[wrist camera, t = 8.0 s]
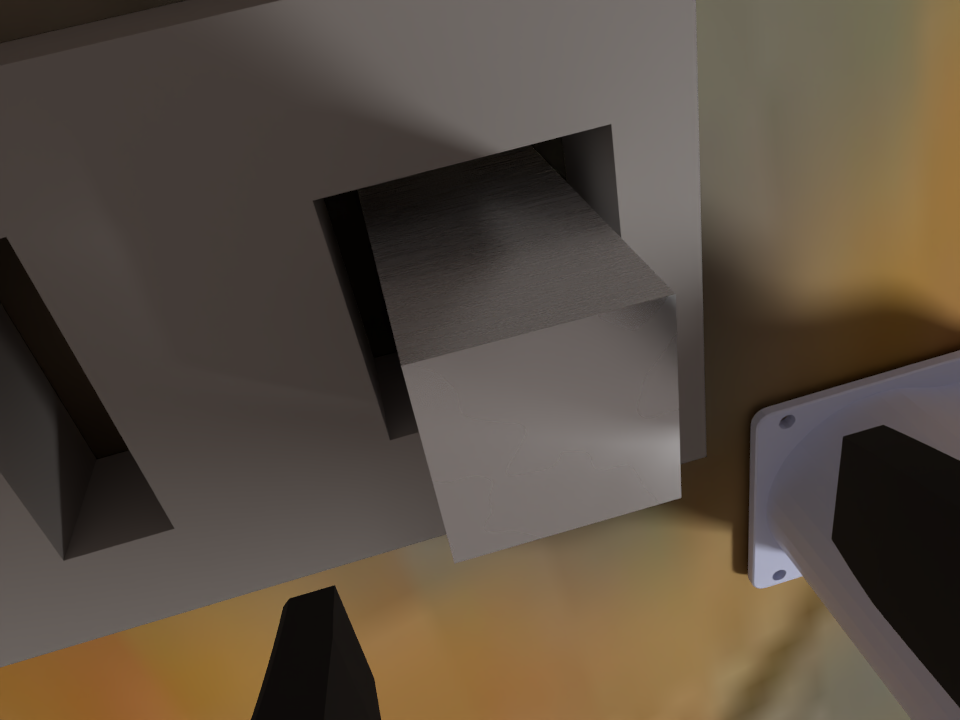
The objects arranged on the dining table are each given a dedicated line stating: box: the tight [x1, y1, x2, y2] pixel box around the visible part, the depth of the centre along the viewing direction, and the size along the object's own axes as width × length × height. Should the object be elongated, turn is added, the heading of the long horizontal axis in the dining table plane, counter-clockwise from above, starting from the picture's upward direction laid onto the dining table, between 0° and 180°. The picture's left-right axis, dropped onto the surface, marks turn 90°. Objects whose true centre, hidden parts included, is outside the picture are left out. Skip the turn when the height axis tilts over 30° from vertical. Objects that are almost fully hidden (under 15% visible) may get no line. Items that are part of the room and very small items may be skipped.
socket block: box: [0, 0, 707, 667], centre depth 16 cm, size 18×12×4 cm, turn 99°
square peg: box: [357, 145, 681, 563], centre depth 15 cm, size 4×4×8 cm
